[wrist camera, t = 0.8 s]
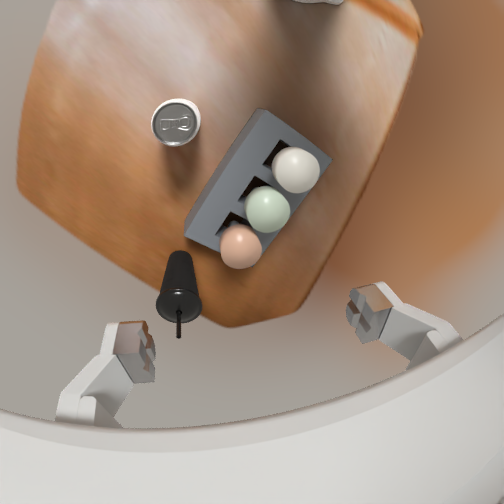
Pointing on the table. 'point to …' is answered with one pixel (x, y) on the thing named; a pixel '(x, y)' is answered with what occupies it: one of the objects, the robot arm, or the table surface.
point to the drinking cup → (179, 291)
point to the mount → (246, 179)
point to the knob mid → (266, 209)
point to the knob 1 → (239, 246)
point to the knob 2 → (295, 169)
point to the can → (175, 122)
